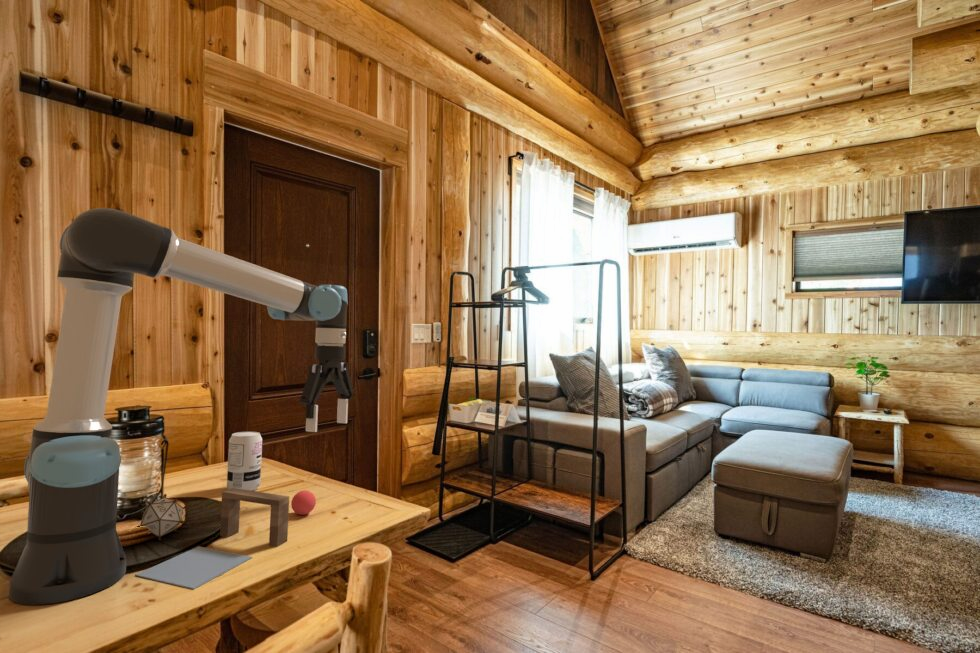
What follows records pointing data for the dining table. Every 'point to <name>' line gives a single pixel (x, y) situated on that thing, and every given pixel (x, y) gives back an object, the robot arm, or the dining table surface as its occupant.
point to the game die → (162, 516)
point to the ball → (303, 502)
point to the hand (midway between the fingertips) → (327, 427)
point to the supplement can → (244, 461)
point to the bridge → (277, 502)
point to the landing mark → (194, 567)
